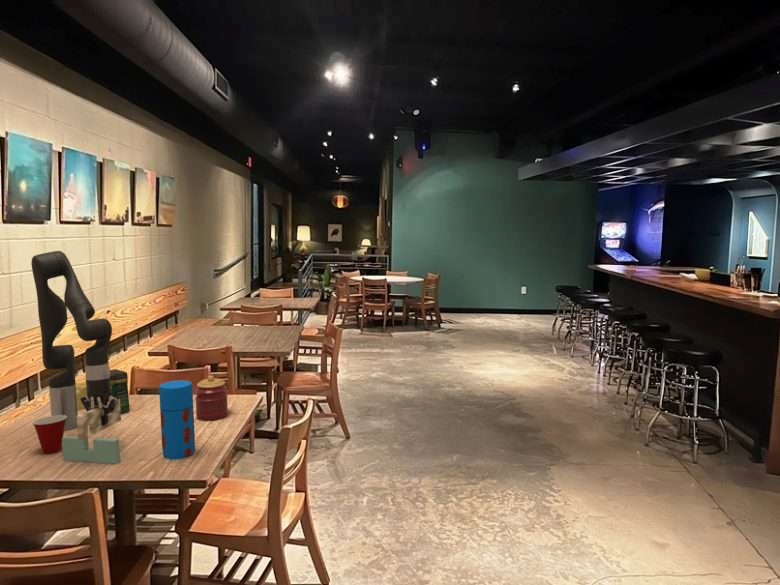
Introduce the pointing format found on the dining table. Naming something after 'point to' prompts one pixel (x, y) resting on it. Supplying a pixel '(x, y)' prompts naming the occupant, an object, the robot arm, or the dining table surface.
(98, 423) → the brass bar
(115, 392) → the coffee jar
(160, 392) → the thermos
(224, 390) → the canister
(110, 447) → the sage green notched block
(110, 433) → the dining table surface
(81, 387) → the cheese
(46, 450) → the plastic cup
